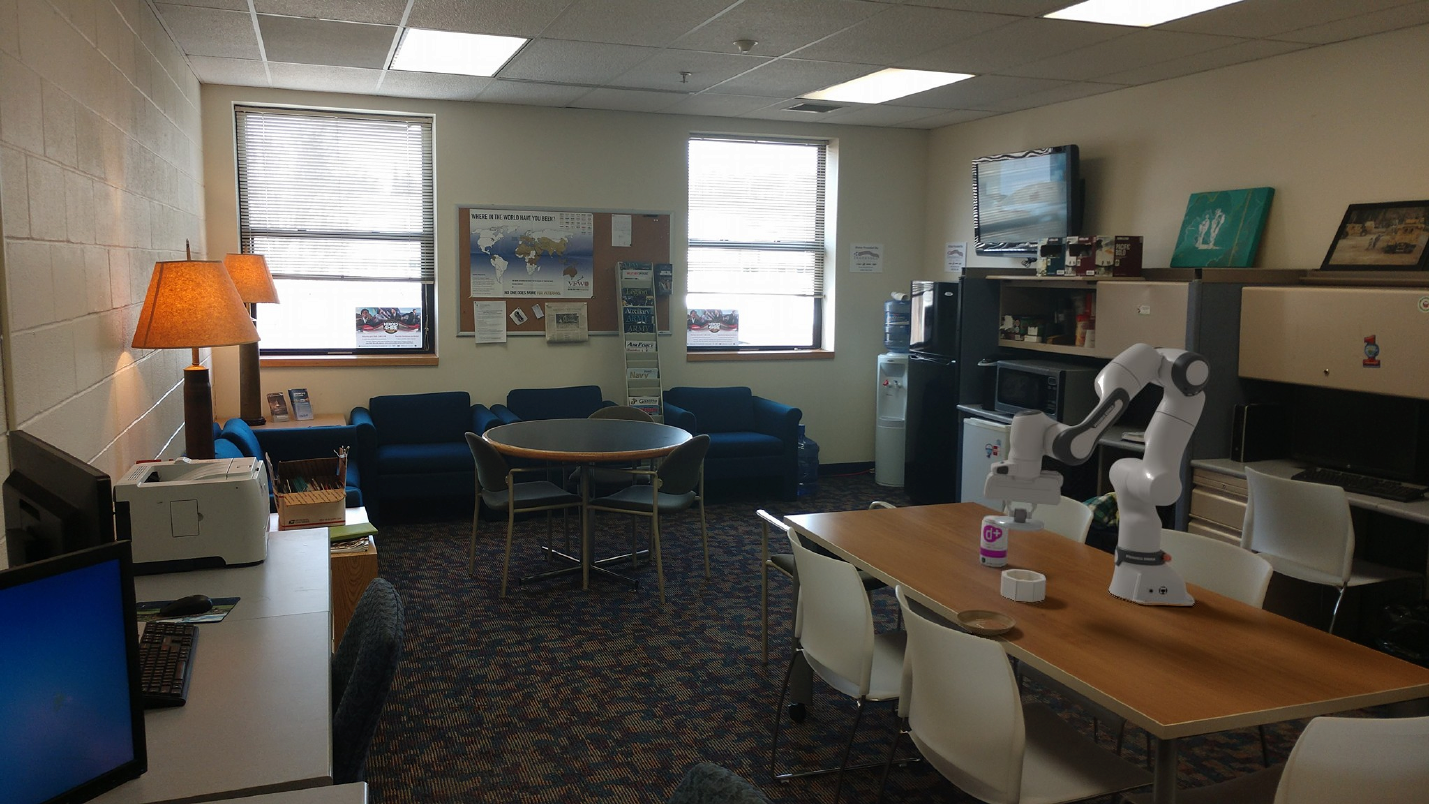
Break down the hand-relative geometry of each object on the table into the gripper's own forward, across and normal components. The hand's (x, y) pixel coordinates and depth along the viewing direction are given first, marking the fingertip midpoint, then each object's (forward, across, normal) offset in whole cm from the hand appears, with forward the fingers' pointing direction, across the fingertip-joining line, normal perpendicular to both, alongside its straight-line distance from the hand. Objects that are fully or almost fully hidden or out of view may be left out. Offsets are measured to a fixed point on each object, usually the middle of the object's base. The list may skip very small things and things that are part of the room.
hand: (1019, 517), depth 266 cm
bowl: (+24, -3, -6) cm, 25 cm away
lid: (+2, 0, 0) cm, 2 cm away
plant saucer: (+25, +9, +24) cm, 36 cm away
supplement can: (+24, +3, -37) cm, 44 cm away
